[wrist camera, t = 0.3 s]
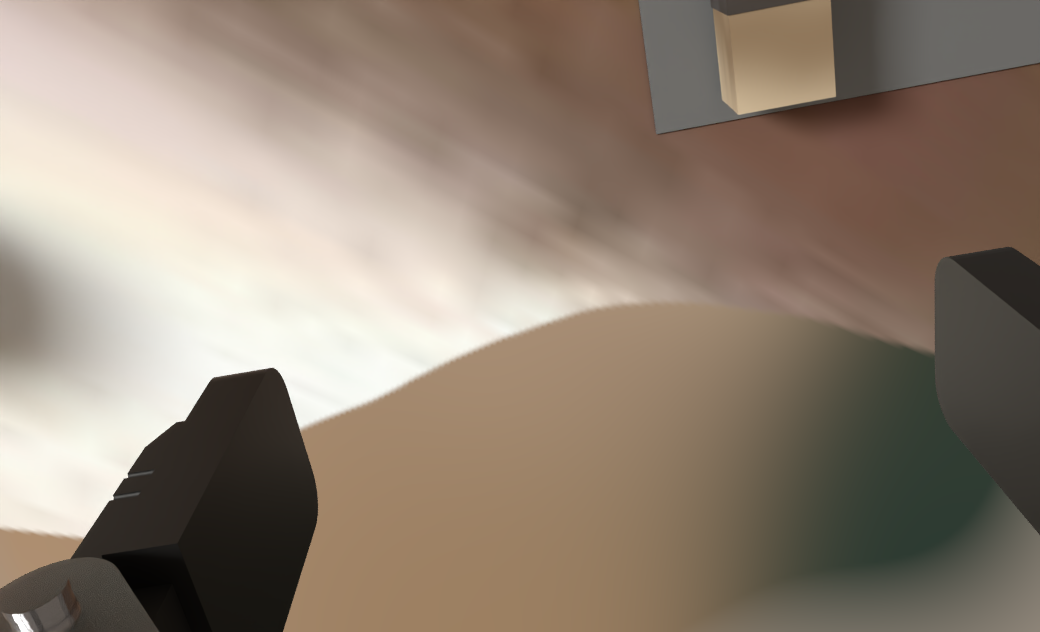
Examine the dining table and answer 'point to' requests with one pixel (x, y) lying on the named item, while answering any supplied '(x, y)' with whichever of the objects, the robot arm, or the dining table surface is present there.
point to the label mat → (840, 50)
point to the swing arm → (774, 52)
